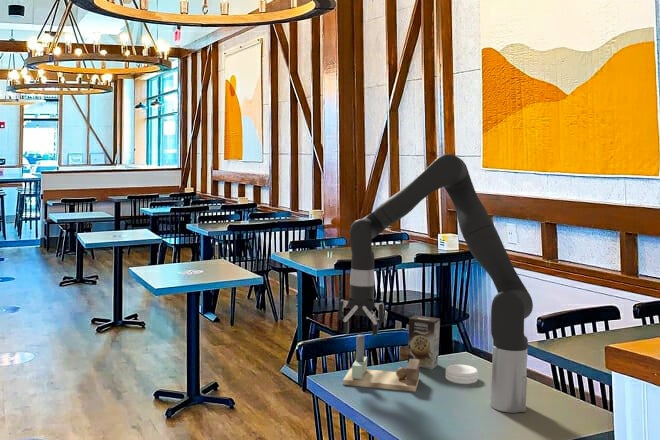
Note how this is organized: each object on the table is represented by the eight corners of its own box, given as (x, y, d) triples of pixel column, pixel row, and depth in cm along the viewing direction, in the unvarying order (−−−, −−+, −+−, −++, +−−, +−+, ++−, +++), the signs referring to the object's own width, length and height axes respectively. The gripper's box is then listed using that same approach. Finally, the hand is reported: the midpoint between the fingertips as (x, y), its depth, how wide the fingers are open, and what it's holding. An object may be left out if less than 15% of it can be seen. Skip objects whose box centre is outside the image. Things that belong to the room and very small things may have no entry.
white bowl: (484, 382, 194) (484, 371, 194) (456, 386, 190) (457, 375, 190) (465, 373, 203) (466, 362, 203) (439, 376, 200) (439, 365, 199)
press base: (419, 378, 196) (419, 358, 195) (415, 391, 184) (416, 370, 184) (350, 372, 201) (351, 352, 200) (342, 384, 189) (343, 363, 189)
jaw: (367, 369, 198) (367, 332, 197) (361, 379, 189) (362, 340, 188) (357, 368, 199) (358, 331, 198) (351, 378, 189) (352, 339, 188)
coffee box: (406, 365, 210) (408, 318, 208) (413, 360, 215) (414, 314, 214) (432, 369, 205) (434, 321, 204) (438, 364, 211) (440, 317, 210)
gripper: (386, 282, 194) (384, 333, 195) (342, 279, 197) (340, 329, 198) (383, 286, 187) (381, 339, 188) (337, 283, 190) (335, 335, 191)
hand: (360, 334), depth 193 cm, fingers open, 8 cm apart
